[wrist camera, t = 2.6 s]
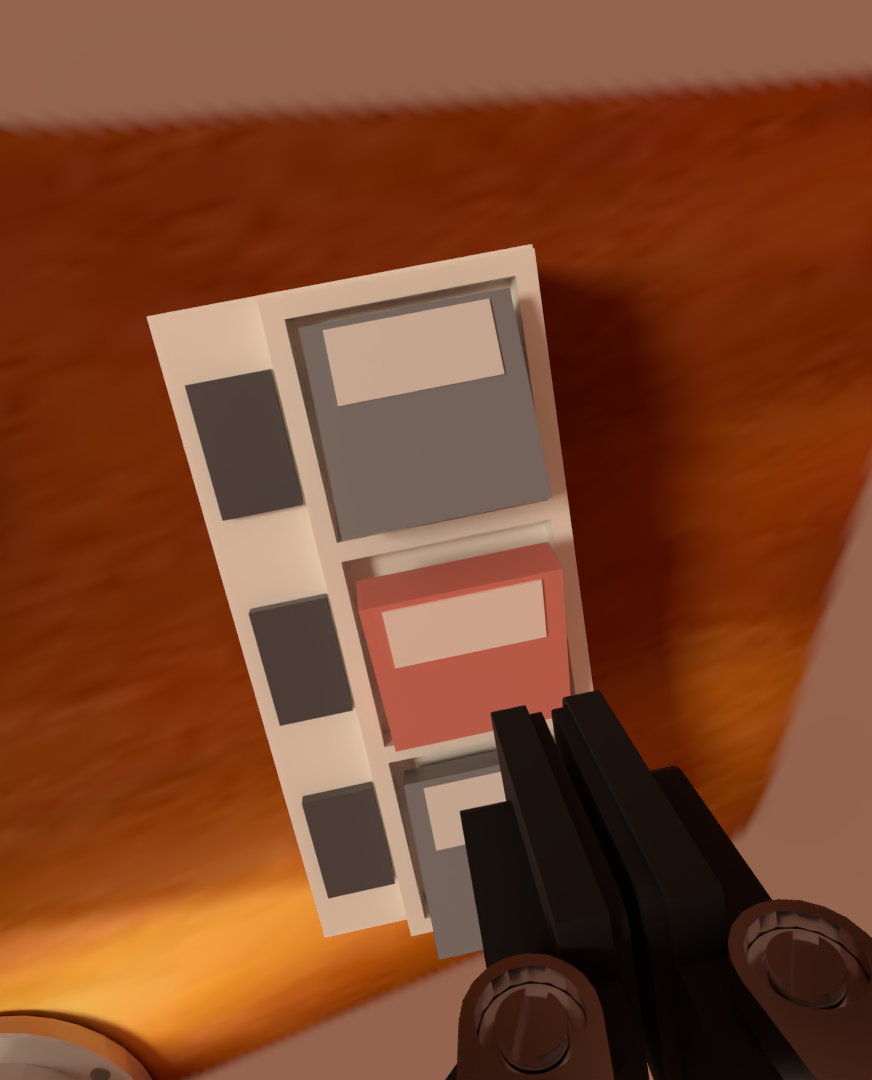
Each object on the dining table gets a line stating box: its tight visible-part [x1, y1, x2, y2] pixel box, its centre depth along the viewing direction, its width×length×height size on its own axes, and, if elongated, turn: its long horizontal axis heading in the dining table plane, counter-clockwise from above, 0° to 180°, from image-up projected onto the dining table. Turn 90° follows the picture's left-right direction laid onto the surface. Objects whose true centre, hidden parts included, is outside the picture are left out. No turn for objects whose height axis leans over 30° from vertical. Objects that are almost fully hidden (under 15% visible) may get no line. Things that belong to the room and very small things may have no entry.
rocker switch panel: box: [147, 244, 593, 938], centre depth 25 cm, size 22×11×6 cm, turn 11°
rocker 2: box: [404, 738, 556, 960], centre depth 23 cm, size 6×6×2 cm
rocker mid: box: [356, 542, 571, 752], centre depth 21 cm, size 6×6×2 cm
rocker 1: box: [299, 288, 552, 540], centre depth 19 cm, size 6×6×2 cm
